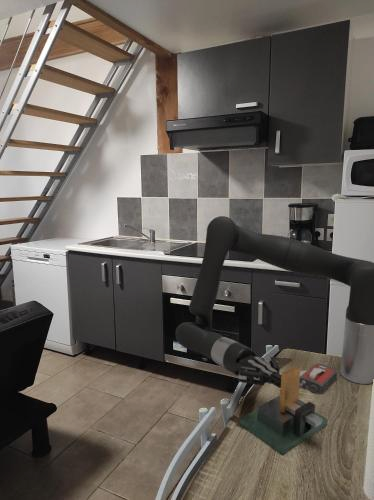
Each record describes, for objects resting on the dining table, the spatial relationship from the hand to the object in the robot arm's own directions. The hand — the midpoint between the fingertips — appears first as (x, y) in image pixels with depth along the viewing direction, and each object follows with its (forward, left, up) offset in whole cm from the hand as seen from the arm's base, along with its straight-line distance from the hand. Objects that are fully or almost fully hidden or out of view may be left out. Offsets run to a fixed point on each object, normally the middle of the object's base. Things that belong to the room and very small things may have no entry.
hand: (287, 384), depth 82 cm
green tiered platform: (0, 0, -10) cm, 10 cm away
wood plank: (0, +4, -5) cm, 7 cm away
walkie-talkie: (-20, -7, -11) cm, 23 cm away
